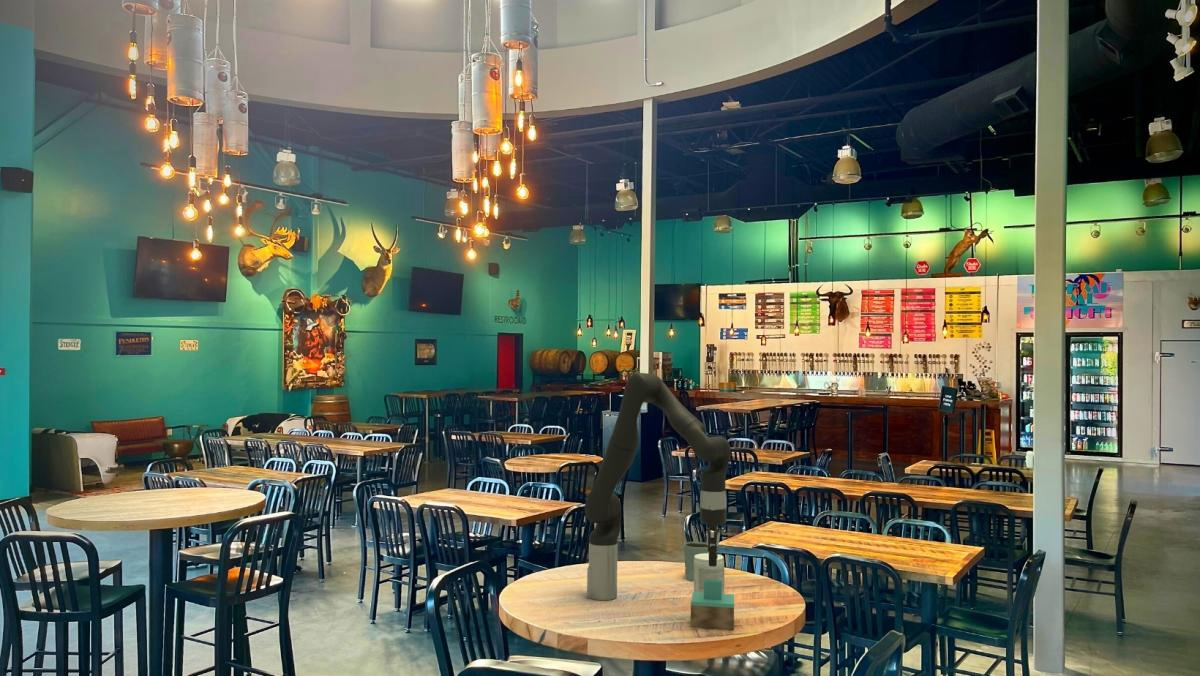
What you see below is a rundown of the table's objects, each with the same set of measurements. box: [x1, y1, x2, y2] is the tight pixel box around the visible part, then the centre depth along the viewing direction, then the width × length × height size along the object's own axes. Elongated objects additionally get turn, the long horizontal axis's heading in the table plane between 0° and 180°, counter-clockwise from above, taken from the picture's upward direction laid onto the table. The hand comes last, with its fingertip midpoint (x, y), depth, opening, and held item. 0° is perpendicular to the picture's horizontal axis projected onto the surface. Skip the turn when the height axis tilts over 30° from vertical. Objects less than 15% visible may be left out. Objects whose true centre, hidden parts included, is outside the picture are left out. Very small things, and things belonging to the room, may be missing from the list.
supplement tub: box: [693, 553, 725, 594], centre depth 260 cm, size 10×10×15 cm
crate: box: [690, 604, 735, 631], centre depth 238 cm, size 12×10×7 cm
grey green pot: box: [683, 541, 708, 582], centre depth 290 cm, size 10×10×12 cm
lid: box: [690, 579, 735, 609], centre depth 238 cm, size 12×10×7 cm
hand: (713, 562), depth 238 cm, fingers open, 8 cm apart
